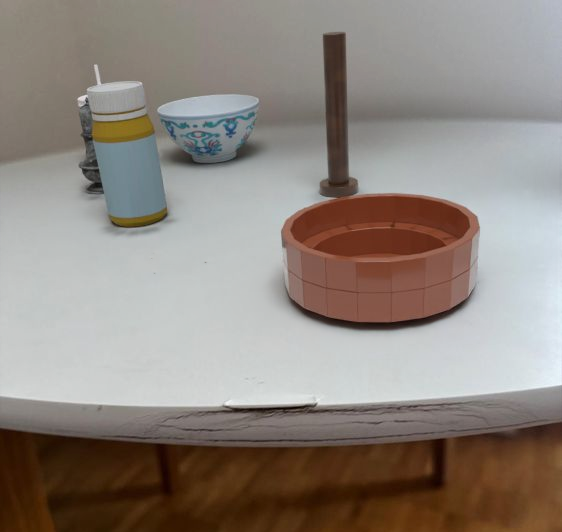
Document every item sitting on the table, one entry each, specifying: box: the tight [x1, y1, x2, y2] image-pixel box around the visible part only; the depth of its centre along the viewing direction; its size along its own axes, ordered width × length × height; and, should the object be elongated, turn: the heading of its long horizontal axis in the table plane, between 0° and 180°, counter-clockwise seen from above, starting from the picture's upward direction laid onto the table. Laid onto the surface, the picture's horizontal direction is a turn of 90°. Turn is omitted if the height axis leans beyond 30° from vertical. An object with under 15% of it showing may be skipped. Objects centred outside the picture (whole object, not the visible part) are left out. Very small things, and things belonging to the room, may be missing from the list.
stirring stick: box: [319, 31, 359, 198], centre depth 83 cm, size 5×5×18 cm
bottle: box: [86, 80, 168, 228], centre depth 80 cm, size 7×7×15 cm
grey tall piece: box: [78, 97, 104, 195], centre depth 93 cm, size 6×6×12 cm
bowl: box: [280, 192, 481, 323], centre depth 61 cm, size 17×17×6 cm
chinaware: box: [156, 93, 260, 164], centre depth 104 cm, size 15×15×8 cm
